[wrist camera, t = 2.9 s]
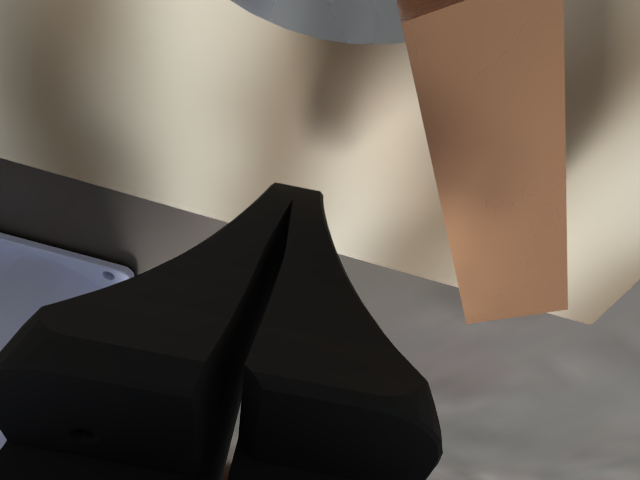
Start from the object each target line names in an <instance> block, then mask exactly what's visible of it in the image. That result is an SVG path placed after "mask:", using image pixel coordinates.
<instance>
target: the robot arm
mask: <svg viewBox="0 0 640 480" xmlns="http://www.w3.org/2000/svg"><path fill="white" fill-rule="evenodd" d="M323 197H324V196H323V194H322V193H321V191H317V190H312V189H307V188H301V187H296V186H291V185H286V184H281V183H276V182H275V183H273V184H272V185H270V186H269V188H268V189H267V190H266V191H265V192H264V193H263V194H262V195H261V196H260V197H259V198H258V199H256V200H255V201H254V202H253V203H252V204H251V205H250V206H249V207H248V208H246V209H245V210H244V211H243V212H242V213H241V214H239V215H238V216H237V217H236V218H235V219H233V220H232V221H231V222H230V223H228V224H227V225H226V226H224V227H223V228H221V229H220V230H219V231H217V232H216V233H215V234H213V235H212V236H210V237H209V238H207V239H206V240H204V241H203V242H201V243H200V244H198V245H197V246H195V247H193V248H192V249H190V250H188V251H187V252H185V253H183V254H181V255H179V256H178V257H176V258H174V259H171V260H169V261H167V262H165V263H163V264H161V265H159V266H157V267H155V268H153V269H151V270H149V271H146V272H144V273H142V274H139V275H137V276H134V273H133V272H132V270H131V269H129V268H128V267H126V266H123V265H119V264H115V263H112V262H108V261H104V260H101V259H97V258H93V257H89V256H86V255H82V254H78V253H75V252H71V251H67V250H63V249H60V248H56V247H52V246H49V245H45V244H41V243H37V242H34V241H30V240H26V239H23V238H19V237H15V236H11V235H8V234H4V233H0V480H222V476H223V472H224V468H225V464H226V460H227V456H228V452H229V447H230V443H231V439H232V435H233V431H234V427H235V423H236V419H237V415H238V411H239V407H240V404H241V413H240V425H239V437H238V441H237V445H236V449H235V453H234V456H233V460H232V464H231V468H230V471H229V476H228V480H426V479H427V477H428V476H429V475H430V473H431V472H432V471H433V469H434V468H435V467H436V466H437V464H438V463H439V460H440V458H441V456H442V454H443V451H442V437H441V429H440V424H439V420H438V416H437V412H436V408H435V404H434V400H433V397H432V394H431V390H430V387H429V384H428V382H427V380H426V379H425V378H424V377H423V376H422V375H421V374H420V373H419V372H418V371H417V370H416V369H415V368H414V367H413V366H412V365H411V364H410V362H409V361H408V360H407V359H406V358H405V357H404V356H403V355H402V354H401V353H400V352H399V351H398V350H397V349H396V348H395V346H394V345H393V344H392V343H391V342H390V340H389V339H388V338H387V337H386V335H385V334H384V333H383V331H382V330H381V329H380V327H379V326H378V324H377V323H376V322H375V320H374V319H373V317H372V316H371V314H370V313H369V312H368V310H367V309H366V307H365V306H364V304H363V303H362V301H361V299H360V298H359V296H358V294H357V293H356V291H355V289H354V287H353V285H352V284H351V282H350V280H349V278H348V276H347V274H346V272H345V270H344V268H343V265H342V263H341V261H340V258H339V256H338V254H337V251H336V249H335V246H334V243H333V240H332V237H331V234H330V231H329V227H328V224H327V220H326V215H325V210H324V202H323ZM241 400H242V401H241Z"/></svg>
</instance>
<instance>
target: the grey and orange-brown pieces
mask: <svg viewBox="0 0 640 480" xmlns="http://www.w3.org/2000/svg"><path fill="white" fill-rule="evenodd" d="M230 1H232V2H234V3H235V4H237V5H238V6H240V7H242V8H243V9H245V10H246V11H248V12H250V13H251V14H254V15H256V16H258V17H260V18H262V19H265V20H267V21H269V22H271V23H273V24H275V25H278V26H280V27H282V28H284V29H287V30H291V31H294V32H297V33H301V34H304V35H307V36H311V37H314V38H317V39H323V40H329V41H336V42H343V43H349V44H397V43H404V42H406V47H407V51H408V56H409V61H410V65H411V70H412V74H413V79H414V84H415V88H416V93H417V98H418V102H419V107H420V111H421V116H422V121H423V125H424V130H425V134H426V139H427V144H428V148H429V153H430V157H431V162H432V167H433V171H434V176H435V181H436V185H437V190H438V194H439V199H440V204H441V208H442V213H443V217H444V222H445V227H446V231H447V236H448V240H449V245H450V250H451V254H452V259H453V263H454V268H455V273H456V277H457V282H458V286H459V291H460V296H461V300H462V305H463V309H464V314H465V319H466V323H467V324H469V323H476V322H483V321H490V320H497V319H505V318H512V317H519V316H526V315H533V314H540V313H547V312H554V311H561V310H568V276H567V204H566V132H565V60H564V0H230Z"/></svg>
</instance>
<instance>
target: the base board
mask: <svg viewBox="0 0 640 480" xmlns="http://www.w3.org/2000/svg"><path fill="white" fill-rule="evenodd" d="M564 60H565V132H566V204H567V276H568V310H561V311H554V312H547V313H550V314H553V315H557V316H560V317H564V318H567V319H571V320H574V321H578V322H582V323H585V324H589V325H591V324H593V323H594V322H595V321H596V320H597V319H598V318H599V317H600V316H601V315H602V314H603V313H604V312H605V311H606V310H607V309H609V308H610V307H611V306H612V305H613V304H614V303H615V302H616V301H617V300H618V299H619V298H620V297H621V296H622V295H623V294H624V293H626V292H627V291H628V290H629V289H630V288H631V287H632V286H633V285H634V284H635V283H636V282H637V281H638V280H639V279H640V0H564ZM0 158H2V159H6V160H9V161H13V162H16V163H20V164H23V165H27V166H31V167H34V168H38V169H41V170H45V171H48V172H52V173H55V174H59V175H62V176H66V177H69V178H73V179H76V180H80V181H83V182H87V183H91V184H94V185H98V186H101V187H105V188H108V189H112V190H115V191H119V192H122V193H126V194H129V195H133V196H136V197H140V198H144V199H147V200H151V201H154V202H158V203H161V204H165V205H168V206H172V207H175V208H179V209H182V210H186V211H189V212H193V213H197V214H200V215H204V216H207V217H211V218H214V219H218V220H221V221H225V222H228V223H230V222H231V221H232V220H233V219H235V218H236V217H237V216H238V215H239V214H241V213H242V212H243V211H244V210H245V209H246V208H248V207H249V206H250V205H251V204H252V203H253V202H254V201H255V200H256V199H258V198H259V197H260V196H261V195H262V194H263V193H264V192H265V191H266V190H267V189H268V188H269V186H270V185H272V184H273V183H275V182H276V183H281V184H286V185H291V186H296V187H301V188H307V189H312V190H317V191H321V193H322V194H323V196H324V197H323V202H324V210H325V215H326V220H327V224H328V227H329V231H330V234H331V237H332V240H333V243H334V246H335V249H336V251H337V253H338V254H341V255H345V256H348V257H352V258H355V259H359V260H363V261H366V262H370V263H373V264H377V265H380V266H384V267H387V268H391V269H394V270H398V271H401V272H405V273H408V274H412V275H416V276H419V277H423V278H426V279H430V280H433V281H437V282H440V283H444V284H447V285H451V286H454V287H458V288H459V286H458V282H457V277H456V273H455V268H454V263H453V259H452V254H451V250H450V245H449V240H448V236H447V231H446V227H445V222H444V217H443V213H442V208H441V204H440V199H439V194H438V190H437V185H436V181H435V176H434V171H433V167H432V162H431V157H430V153H429V148H428V144H427V139H426V134H425V130H424V125H423V121H422V116H421V111H420V107H419V102H418V98H417V93H416V88H415V84H414V79H413V74H412V70H411V65H410V61H409V56H408V51H407V47H406V42H404V43H397V44H349V43H343V42H336V41H329V40H323V39H317V38H314V37H311V36H307V35H304V34H301V33H297V32H294V31H291V30H287V29H284V28H282V27H280V26H278V25H275V24H273V23H271V22H269V21H267V20H265V19H262V18H260V17H258V16H256V15H254V14H251V13H250V12H248V11H246V10H245V9H243V8H242V7H240V6H238V5H237V4H235V3H234V2H232V1H230V0H0Z"/></svg>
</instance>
